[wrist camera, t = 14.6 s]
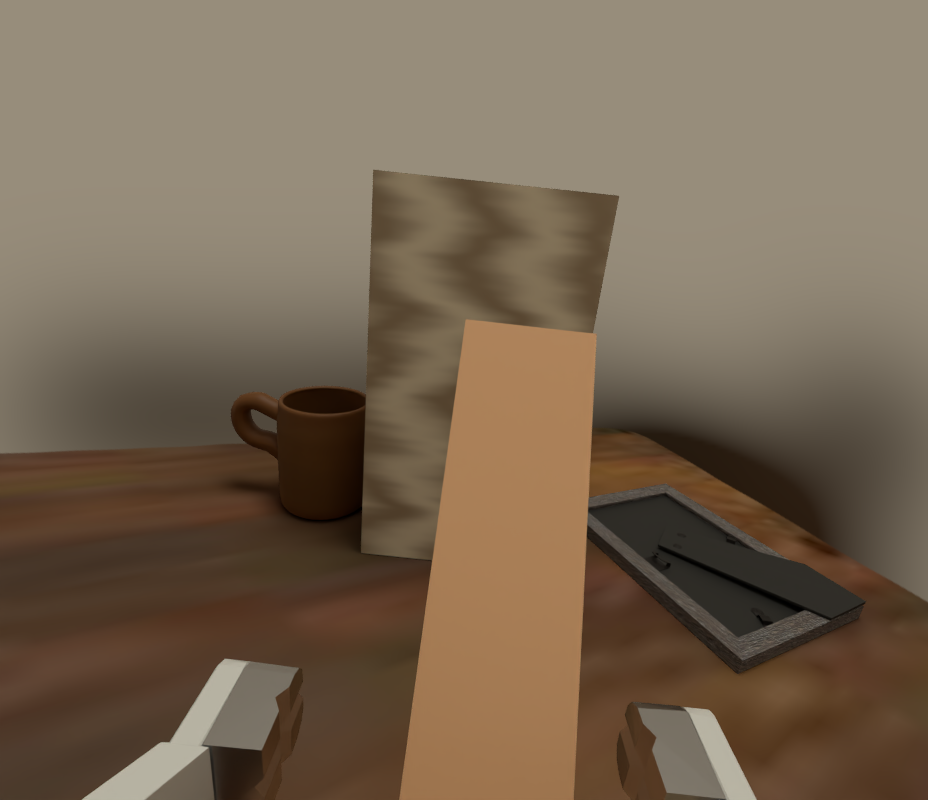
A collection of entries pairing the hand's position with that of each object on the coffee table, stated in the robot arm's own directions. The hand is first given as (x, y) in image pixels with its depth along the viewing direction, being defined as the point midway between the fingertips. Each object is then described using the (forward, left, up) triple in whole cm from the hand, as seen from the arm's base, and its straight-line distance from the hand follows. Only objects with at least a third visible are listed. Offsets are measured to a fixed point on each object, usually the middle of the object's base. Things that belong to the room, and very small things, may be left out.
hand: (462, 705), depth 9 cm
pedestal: (0, +28, -14) cm, 31 cm away
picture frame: (+19, +26, -15) cm, 35 cm away
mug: (-14, +29, -14) cm, 35 cm away
